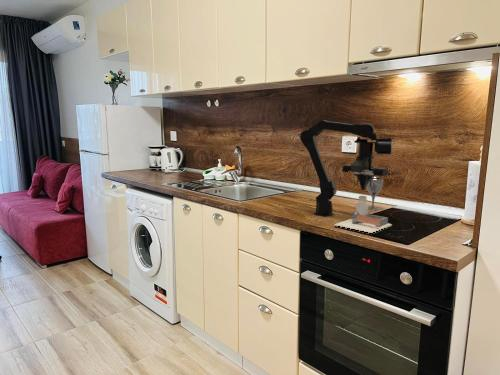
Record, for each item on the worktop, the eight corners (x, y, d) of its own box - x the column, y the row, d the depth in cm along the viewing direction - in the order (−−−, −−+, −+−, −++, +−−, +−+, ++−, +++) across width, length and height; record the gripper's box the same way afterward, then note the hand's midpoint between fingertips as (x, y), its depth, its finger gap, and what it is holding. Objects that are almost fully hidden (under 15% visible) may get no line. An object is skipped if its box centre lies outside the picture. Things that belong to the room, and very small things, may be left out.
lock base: (334, 225, 148) (334, 218, 147) (355, 218, 159) (356, 211, 159) (371, 234, 136) (372, 226, 136) (391, 225, 148) (392, 218, 148)
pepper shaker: (363, 216, 163) (364, 195, 161) (367, 218, 159) (369, 197, 158) (355, 216, 162) (356, 195, 161) (359, 219, 159) (360, 197, 157)
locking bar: (351, 223, 149) (351, 212, 149) (354, 222, 151) (354, 211, 150) (377, 229, 141) (378, 218, 140) (380, 228, 142) (381, 217, 142)
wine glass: (360, 207, 180) (362, 177, 178) (373, 206, 183) (375, 176, 181) (372, 211, 173) (373, 179, 170) (384, 209, 176) (387, 178, 174)
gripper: (335, 153, 156) (334, 189, 159) (377, 156, 143) (374, 195, 146) (349, 152, 164) (347, 186, 167) (390, 154, 151) (387, 192, 153)
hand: (363, 190), depth 158 cm, fingers closed
